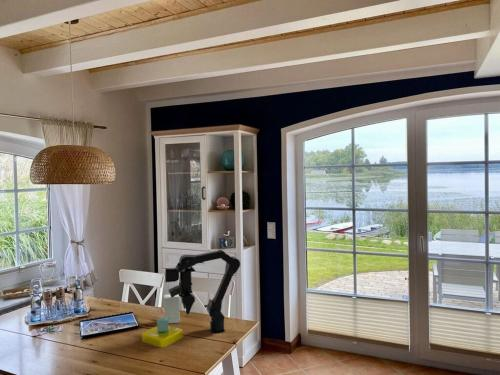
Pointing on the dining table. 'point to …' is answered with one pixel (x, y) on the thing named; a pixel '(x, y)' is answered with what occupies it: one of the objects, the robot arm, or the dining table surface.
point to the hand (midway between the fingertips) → (186, 311)
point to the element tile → (161, 336)
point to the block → (162, 324)
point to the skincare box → (172, 308)
